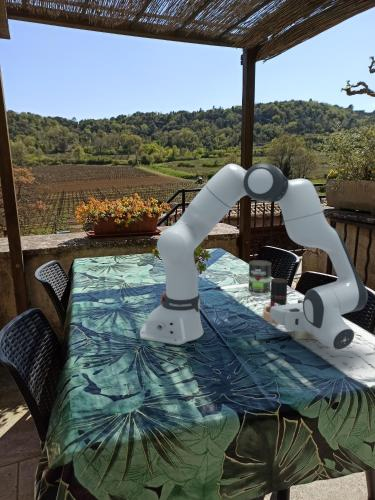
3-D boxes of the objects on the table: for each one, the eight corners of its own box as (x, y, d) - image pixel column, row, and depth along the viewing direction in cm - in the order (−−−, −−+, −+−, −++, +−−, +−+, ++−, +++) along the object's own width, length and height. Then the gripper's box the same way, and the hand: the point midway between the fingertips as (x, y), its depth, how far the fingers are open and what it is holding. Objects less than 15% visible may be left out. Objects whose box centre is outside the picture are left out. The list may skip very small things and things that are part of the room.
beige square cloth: (294, 338, 114) (294, 337, 114) (290, 323, 126) (290, 322, 126) (332, 340, 112) (332, 339, 112) (324, 325, 124) (324, 323, 124)
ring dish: (264, 322, 127) (264, 315, 126) (262, 311, 138) (262, 304, 137) (294, 324, 125) (294, 316, 125) (290, 312, 136) (291, 305, 135)
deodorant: (286, 321, 128) (288, 283, 125) (270, 320, 129) (271, 282, 126) (285, 315, 134) (286, 278, 130) (269, 314, 135) (270, 277, 132)
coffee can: (268, 296, 155) (269, 266, 152) (246, 293, 159) (246, 264, 156) (272, 289, 164) (273, 260, 161) (250, 287, 168) (251, 259, 165)
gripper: (338, 305, 112) (313, 291, 125) (283, 312, 107) (262, 298, 120) (337, 323, 113) (312, 308, 126) (282, 331, 108) (262, 314, 121)
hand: (287, 303), depth 123 cm, fingers open, 8 cm apart
